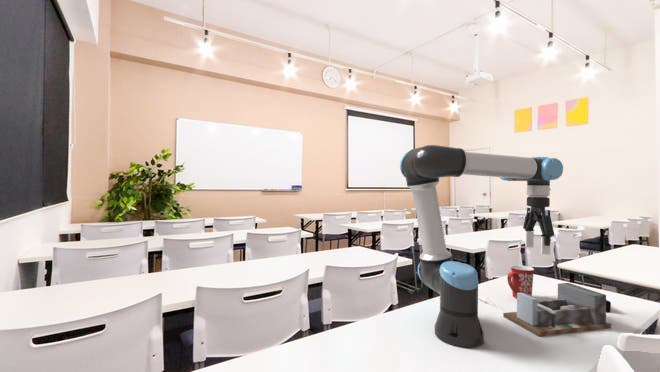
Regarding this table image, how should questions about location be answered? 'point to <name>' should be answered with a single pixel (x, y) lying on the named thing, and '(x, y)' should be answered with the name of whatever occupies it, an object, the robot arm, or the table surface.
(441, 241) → the robot arm
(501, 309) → the stylus pen
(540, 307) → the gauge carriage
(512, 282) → the mug
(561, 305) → the grey block structure
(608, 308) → the mobile phone
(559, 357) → the table surface
